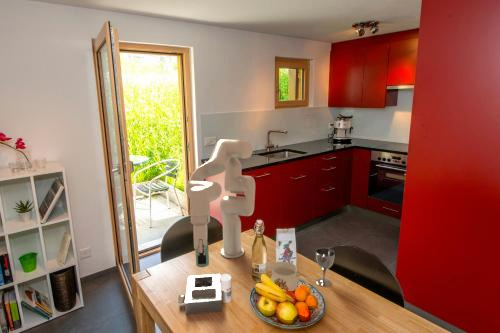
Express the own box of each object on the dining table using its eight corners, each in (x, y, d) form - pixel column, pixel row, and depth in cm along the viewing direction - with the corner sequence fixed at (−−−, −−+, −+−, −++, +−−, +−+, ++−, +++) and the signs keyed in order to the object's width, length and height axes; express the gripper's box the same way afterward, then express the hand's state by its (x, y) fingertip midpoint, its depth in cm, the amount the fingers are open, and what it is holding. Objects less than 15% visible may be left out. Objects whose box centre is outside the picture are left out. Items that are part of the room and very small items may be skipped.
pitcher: (304, 311, 121) (305, 279, 118) (261, 299, 128) (261, 270, 125) (310, 294, 131) (311, 265, 128) (270, 284, 138) (270, 256, 135)
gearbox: (182, 286, 137) (181, 271, 136) (220, 283, 139) (220, 268, 137) (177, 314, 120) (176, 297, 118) (221, 311, 122) (221, 294, 120)
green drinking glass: (196, 260, 128) (195, 239, 126) (209, 260, 129) (208, 238, 126) (195, 267, 123) (194, 245, 121) (209, 266, 124) (208, 244, 121)
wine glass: (334, 287, 136) (336, 256, 132) (316, 287, 136) (318, 256, 132) (330, 277, 143) (331, 247, 140) (313, 277, 143) (314, 247, 140)
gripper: (192, 210, 129) (194, 250, 133) (189, 227, 113) (191, 272, 117) (210, 209, 130) (211, 249, 134) (209, 226, 113) (211, 270, 118)
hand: (202, 259), depth 125 cm, fingers closed on green drinking glass, 5 cm apart
